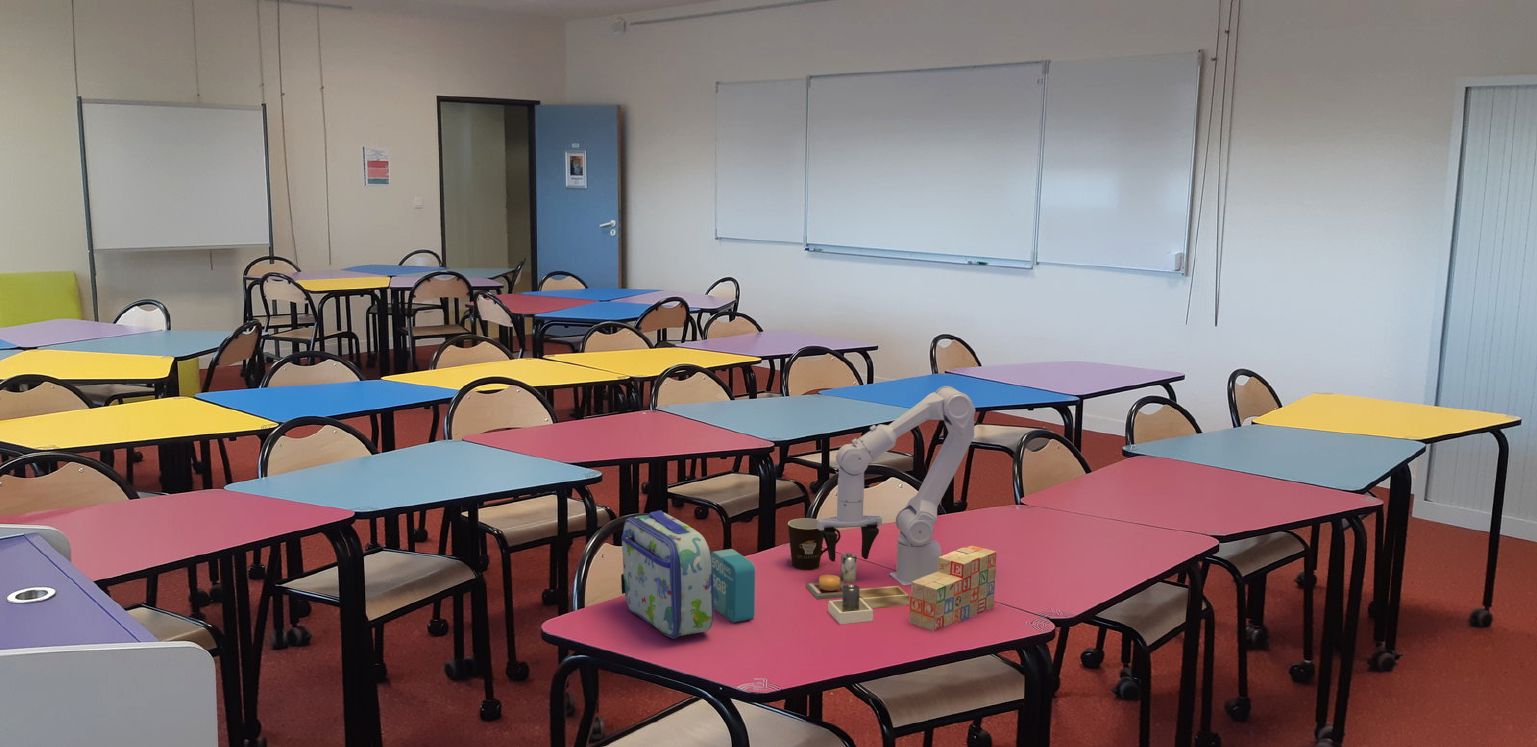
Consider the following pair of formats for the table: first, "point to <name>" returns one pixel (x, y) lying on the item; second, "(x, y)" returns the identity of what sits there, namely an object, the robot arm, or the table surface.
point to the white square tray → (850, 612)
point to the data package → (733, 585)
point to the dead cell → (850, 598)
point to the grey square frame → (818, 595)
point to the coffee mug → (806, 543)
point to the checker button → (829, 582)
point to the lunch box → (667, 574)
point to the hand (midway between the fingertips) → (848, 558)
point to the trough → (884, 597)
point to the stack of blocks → (954, 588)
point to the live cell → (848, 567)
